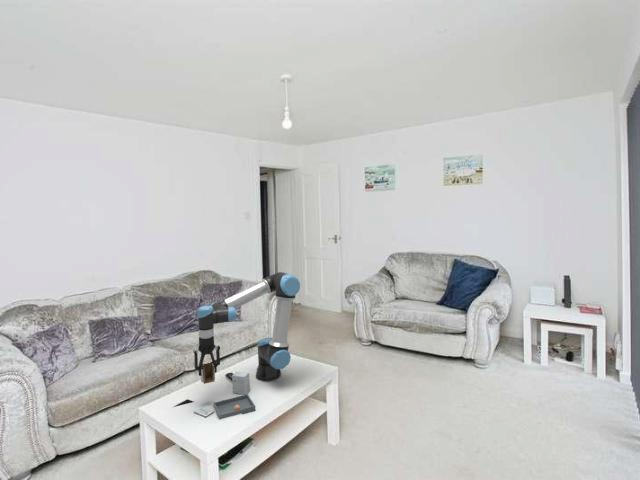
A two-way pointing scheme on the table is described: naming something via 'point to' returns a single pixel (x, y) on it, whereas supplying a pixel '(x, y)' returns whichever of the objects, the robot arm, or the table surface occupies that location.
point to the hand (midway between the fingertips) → (207, 379)
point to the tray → (227, 406)
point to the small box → (241, 383)
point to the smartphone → (184, 402)
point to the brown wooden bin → (208, 373)
